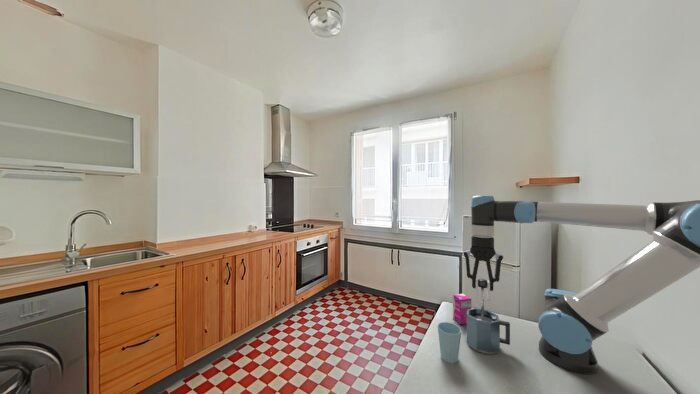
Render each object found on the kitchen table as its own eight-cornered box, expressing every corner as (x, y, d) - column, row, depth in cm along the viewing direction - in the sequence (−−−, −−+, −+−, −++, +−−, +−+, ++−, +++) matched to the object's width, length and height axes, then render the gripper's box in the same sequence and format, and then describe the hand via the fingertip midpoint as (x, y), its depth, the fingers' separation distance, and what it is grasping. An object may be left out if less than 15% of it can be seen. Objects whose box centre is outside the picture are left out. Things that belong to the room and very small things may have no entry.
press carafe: (507, 343, 89) (507, 313, 90) (512, 361, 80) (512, 327, 80) (466, 334, 95) (466, 306, 96) (466, 349, 86) (466, 318, 86)
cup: (466, 361, 79) (466, 330, 80) (450, 368, 76) (449, 336, 76) (448, 348, 86) (448, 320, 86) (433, 354, 83) (433, 324, 83)
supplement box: (452, 318, 108) (452, 294, 108) (463, 317, 109) (463, 293, 109) (460, 325, 102) (460, 299, 102) (472, 324, 103) (472, 298, 104)
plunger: (494, 319, 90) (494, 278, 91) (496, 330, 83) (496, 285, 83) (469, 315, 94) (469, 275, 94) (470, 325, 86) (470, 281, 87)
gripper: (506, 236, 89) (506, 298, 88) (459, 233, 96) (458, 290, 95) (509, 239, 82) (509, 306, 82) (458, 235, 89) (458, 297, 89)
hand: (482, 297), depth 88 cm, fingers closed on plunger, 3 cm apart
